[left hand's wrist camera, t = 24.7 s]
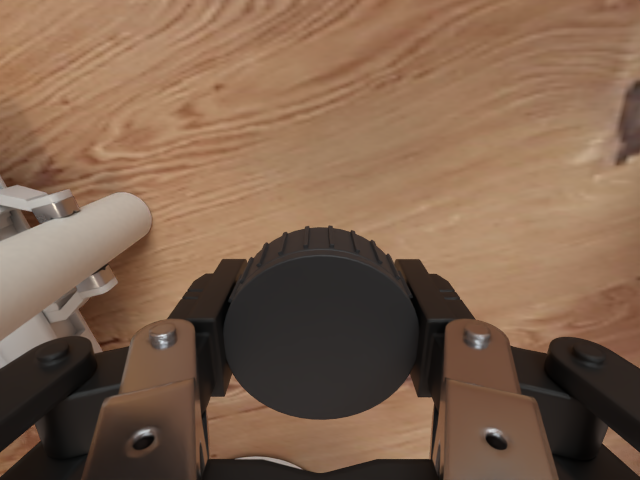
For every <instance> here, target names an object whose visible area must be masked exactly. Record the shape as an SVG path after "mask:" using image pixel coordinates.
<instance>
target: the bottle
mask: <svg viewBox="0 0 640 480" xmlns="http://www.w3.org/2000/svg"><path fill="white" fill-rule="evenodd" d="M151 224H152V217H151V213H150V210H149V208H148V207H147V205H146V204H145V203H144V202H143V201H142V200H141V199H140V198H138V197H137V196H135V195H133V194H130V193H126V192H118V193H114V194H111V195H109V196H106V197H104V198H102V199H99V200H97V201H95V202H92V203H90V204H88V205H85V206H83V207H80V210H79V211H77V212H74V213H72V214H70V215H67V216H65V217H62V218H58V219H52V220H50V221H47V222H45V223H42V224H40V225H38V226H35V227H33V228H31V229H28V230H26V231H24V232H21V233H19V234H16V235H14V236H12V237H9V238H7V239H5V240H2V241H0V341H2V340H3V339H4V338H6V337H7V336H8V335H10V334H11V333H12V332H14V331H15V330H17V329H18V328H19V327H21V326H22V325H23V324H25V323H26V322H28V321H29V320H30V319H32V318H33V317H34V316H36V315H37V314H38V313H40V312H41V311H43V310H44V309H45V308H47V307H48V306H49V305H51V304H52V303H54V302H55V301H56V300H58V299H59V298H60V297H62V296H63V295H64V294H66V293H67V292H69V291H70V290H71V289H73V288H74V287H75V286H77V285H78V284H80V283H81V282H82V281H84V280H85V279H86V278H88V277H89V276H90V275H92V274H93V273H95V272H96V271H97V270H99V269H100V268H101V267H103V266H104V265H105V264H107V263H108V262H110V261H111V260H112V259H114V258H115V257H116V256H118V255H119V254H121V253H122V252H123V251H125V250H126V249H127V248H129V247H130V246H131V245H133V244H134V243H136V242H137V241H138V240H140V239H141V238H142V237H144V236H145V235H146V234H147V233H148V232H149V230H150V228H151Z"/></svg>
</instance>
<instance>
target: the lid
mask: <svg viewBox="0 0 640 480" xmlns="http://www.w3.org/2000/svg"><path fill="white" fill-rule="evenodd" d="M410 298H413V296H412V294H411V292H410V290H409V288H408V286H407V284H406V282H405V280H404V278H403V276H402V274H401V272H400V270H399V271H397V269H396V267H395V265H394V263H393V260H392V258H391V256H390V255H389V254H387V255H385V253H384V252H383V251H382V250H381V249H379V248H378V247H377V246H376V244H375V242H374V241H373V240H371V241H368V240H367V239H365V238H363V237H361V236H359V235H357V234H355V231H353V230H351V232H348V231H345V230H341V229H335V228H333V226H328V228H321V227H317V228H309V226H306V227H305V229H302V230H298V231H294V232H291V233H287V232H285V233H283V236H281V237H279V238H277V239H275V240H274V241H272V242H271V243H269V244H268V243H267V242H266V243H265V244H264V246H263V248H262V250H261V251H260V252H259V253H258V254H257V255H256V256H255V257H254V258H252V257H251V258H250V259H249V261H248V263H247V265H246V268H245V270H244V272H243V274H240V276H239V279H238V281H237V283H236V285H235V287H234V289H233V292H232V294H231V296H230V298H229V301H228V302H230V303H231V304H230V307H229V309H228V312H227V314H226V317H225V321H224V325H223V336H224V346H225V354H226V360H227V363H228V365H229V367H230V370H231V371H232V373H233V375H234V376H235V378H236V379H237V381H238V382H239V383H240V385H241V386H242V387H243V388H244V389H245V390H246V391H247V392H248V393H249V394H250V395H251V396H253V397H254V398H255V399H257V400H258V401H259V402H261V403H263V404H264V405H266V406H268V407H270V408H272V409H274V410H276V411H278V412H281V413H284V414H287V415H290V416H295V417H299V418H306V419H319V420H326V419H337V418H343V417H348V416H352V415H355V414H359V413H361V412H364V411H366V410H369V409H371V408H372V407H374V406H376V405H378V404H380V403H381V402H383V401H384V400H386V399H387V398H389V397H390V396H391V395H392V394H393V393H394V392H395V391H397V390H398V388H399V387H400V386H401V385H402V384H403V383H404V382H405V380H406V379H407V377H408V376H409V374H410V372H411V370H412V368H413V366H414V364H415V362H416V356H417V347H418V339H419V321H418V318H417V315H416V312H415V309H414V307H413V304H412V302H411V300H410Z"/></svg>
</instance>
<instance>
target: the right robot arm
mask: <svg viewBox="0 0 640 480" xmlns="http://www.w3.org/2000/svg"><path fill="white" fill-rule="evenodd" d="M20 209H21V210H26V211H31V212H33V213H34V215H35V217H36V218H37V220H38V222H39V223H44V222H47V221H50V220H52V219H58V218H62V217H65V216H67V215H70V214H72V213H74V212H77V211H79V210H80V208H79V206H78V204H77V202H76V200H75V198H74V196H73V195H72V193H71V191H70V189H67V190H63V191H59V192H56V193H52V194H49V195H48V194H47V193H45V192H42V191H38V190H34V189H31V188H27V187H24V186H20V185H15V186H11V187H8V188H7V186H6V184H5V182H4V181H3V179H2V177H1V175H0V241H2V240H5V239H7V238H9V237H12V236H14V235H16V234H19V233H21V232H24V231H26V230H28V229H31V227H30V225H29V224H28V222H27V220H26V218H25V217H24V215H23V213H22V212H21V210H20ZM117 283H118V281H117V279H116V277H115V275H114V274H113V272H112V270H111V268H110V266H109V265H108V264H105V265H104V266H103V267H101V268H100V269H99V270H97V271H96V272H95V273H93V274H92V275H90V276H89V277H88V278H86V279H85V280H84V281H82V282H81V283H80V284H78V285H77V286H75V287H76V288H73V289H71V290H70V291H69V292H67V293H66V294H64V295H63V296H62V297H60V298H59V299H58V300H56V301H55V302H54V303H52V304H51V305H49V306H48V307H47V308H45V309H44V310H43V311H41V312H40V313H38V314H37V315H36V316H34V317H33V318H32V319H30V320H29V321H28V322H26V323H25V324H23V325H22V326H21V327H19V328H18V329H17V330H15V331H14V332H12V333H11V334H10V335H8V336H7V337H6V338H4V339H3V340H2V341H0V369H1V368H2V367H4V366H5V365H7V364H8V363H10V362H12V361H13V360H15V359H16V358H18V357H20V356H21V355H23V354H24V353H26V352H27V351H29V350H31V349H32V348H34V347H36V346H38V345H40V344H43V343H45V342H47V341H50V340H53V339H57V338H61V337H67V336H82V337H85V338H87V339H89V340H90V341H91V343H92V346H93V350H94V353H99V352H103V351H102V349H101V347H100V345H99V344H98V342H97V340H96V339H95V337H94V335H93V333H92V332H91V330H90V328H89V327H88V325H87V323H86V322H85V320H84V318H83V316H82V315H81V313H80V311H79V308H80V307H82V306H83V305H84V304H85V303H86V302H87V301H88V300H89V299H90V298H91V297H92V296H96V295H100V294H103V293H105V292H108V291H109V290H111V289H112V288H113V287H114V286H115V285H116V284H117ZM237 459H264V460H268V461H271V462H275V463H279V464H283V465H287V466H291V467H295V468H298V469H301V468H300V467H298V466H296V465H294V464H292V463H289V462H286V461H283V460H280V459H275V458H270V457H259V456H253V457H242V458H237ZM302 470H303V469H302Z"/></svg>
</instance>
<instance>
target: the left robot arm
mask: <svg viewBox="0 0 640 480" xmlns="http://www.w3.org/2000/svg"><path fill="white" fill-rule="evenodd" d="M246 265H247V260H246V259H222V261H221V262H220V264H219V265H218V267H217V269H216V270H215V272H214V273H213V274H204V275H203V276H201V277H200V278H198V279H197V280H195V281H194V282H193V283H192V285H191V286H190V287H189V289H188V292H186V293H185V294H184V296H183V297H182V299H181V300H180V302H179V303H178V304H177V306H176V307H175V309H174V310H173V311H172V313H171V314H170V316H169V317H168V318H167V319H166V320H161V321H157V322H154V323H152V324H149V325H147V326H145V327H143V328H142V329H140V330H139V331H138V332H137V333H136V334H135V335H134V336H133V337H132V339H131V342H130V346H128V347H124V348H119V349H114V350H109V351H104V352H99V353H94V350H93V346H92V343H91V341H90V340H89V339H87V338H85V337H82V336H67V337H61V338H57V339H53V340H50V341H47V342H45V343H43V344H40V345H38V346H36V347H34V348H32V349H31V350H29V351H27V352H26V353H24V354H23V355H21V356H20V357H18V358H16V359H15V360H13V361H12V362H10V363H8V364H7V365H5V366H4V367H2V368H1V369H0V452H1V451H2V450H4V449H5V448H6V447H7V446H8V445H10V444H11V443H12V442H13V441H14V440H16V439H17V438H18V437H19V436H20V435H22V434H23V433H24V432H25V431H26V430H28V429H29V428H30V427H31V426H32V425H34V424H35V426H36V429H37V431H38V434H39V437H40V439H41V441H40V442H39V443H38V444H37V445H36V446H35V447H33V448H32V449H31V450H30V451H29V452H28V453H27V454H26V455H24V456H23V457H22V458H21V459H20V460H19V461H18V462H17V463H16V464H14V465H13V466H12V467H11V468H10V469H9V470H8V471H7V472H5V473H4V474H3V475H2V476H1V477H0V480H640V477H639V476H638V475H637V474H636V473H635V472H633V471H632V470H631V469H630V468H629V467H628V466H627V465H626V464H624V463H623V462H622V461H621V460H620V459H619V458H618V457H617V456H616V455H614V454H613V453H612V452H611V451H610V450H609V449H608V448H607V447H605V446H604V445H603V444H602V442H603V439H604V437H605V434H606V432H607V429H608V426H609V427H610V428H611V429H612V430H614V431H615V432H616V433H617V434H618V435H620V436H621V437H622V438H623V439H624V440H626V441H627V442H628V443H629V444H630V445H632V446H633V447H634V448H635V449H636V450H638V451H639V452H640V369H639V368H638V367H636V366H635V365H633V364H632V363H630V362H628V361H627V360H625V359H624V358H622V357H620V356H619V355H617V354H616V353H614V352H613V351H611V350H609V349H607V348H605V347H603V346H601V345H599V344H597V343H594V342H591V341H588V340H584V339H580V338H574V337H560V338H556V339H554V340H552V341H551V343H550V345H549V349H548V352H547V354H546V353H541V352H536V351H531V350H526V349H521V348H517V347H513V346H510V342H509V339H508V337H507V336H506V335H505V334H504V333H503V332H502V331H501V330H500V329H498V328H497V327H495V326H493V325H491V324H488V323H486V322H483V321H479V320H476V319H475V318H474V317H473V315H472V314H471V312H470V311H469V310H468V308H467V307H466V306H465V304H464V303H463V301H462V300H460V297H459V296H458V294H457V293H456V292H455V290H454V289H453V287H452V286H451V285H450V283H449V282H448V281H447V280H445V279H443V278H442V277H440V276H439V275H437V274H429V273H428V272H427V270H426V269H425V267H424V266H423V264H422V262H421V261H420V260H419V259H396V260H395V263H394V265H395V267H396V269H397V271H399V270H400V272H401V274H402V276H403V278H404V280H405V282H406V284H407V286H408V288H409V290H410V292H411V294H412V296H413V298H410V300H411V302H412V304H413V307H414V309H415V312H416V315H417V318H418V321H419V339H418V347H417V356H416V362H415V364H414V366H413V368H412V370H411V372H410V375H411V378H412V381H413V384H414V387H415V390H416V393H417V396H418V397H432V399H433V401H434V409H433V415H432V428H431V442H430V457H429V459H376V460H372V461H369V462H365V463H361V464H357V465H353V466H349V467H345V468H342V469H338V470H334V471H330V472H326V473H314V472H310V471H306V470H302V469H298V468H295V467H291V466H287V465H283V464H279V463H275V462H271V461H268V460H264V459H211V457H210V442H209V428H208V415H207V409H206V408H207V405H208V403H209V400H210V397H225V394H226V391H227V388H228V385H229V382H230V379H231V375H232V371H231V370H230V367H229V365H228V363H227V360H226V354H225V346H224V336H223V325H224V321H225V317H226V314H227V312H228V309H229V307H230V304H231V303H230V302H228V301H229V298H230V296H231V294H232V292H233V289H234V287H235V285H236V283H237V281H238V279H239V276H240V274H243V272H244V270H245V268H246Z"/></svg>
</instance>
